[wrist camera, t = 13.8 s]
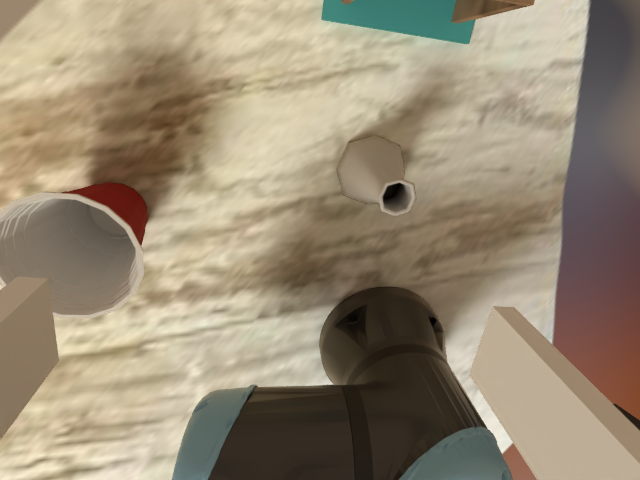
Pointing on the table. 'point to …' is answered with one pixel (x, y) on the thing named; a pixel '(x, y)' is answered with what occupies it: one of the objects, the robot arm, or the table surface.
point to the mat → (402, 17)
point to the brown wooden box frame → (480, 8)
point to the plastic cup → (77, 246)
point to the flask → (376, 175)
